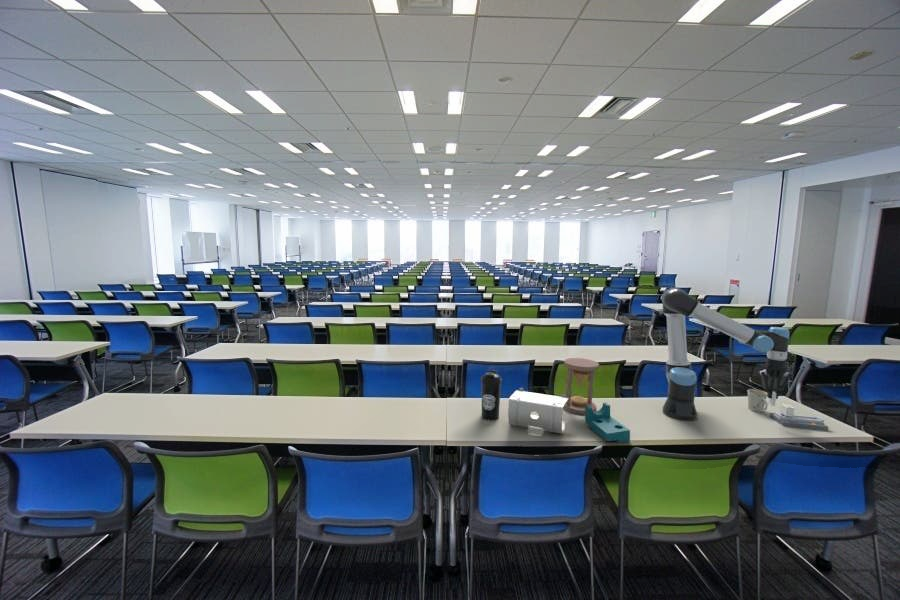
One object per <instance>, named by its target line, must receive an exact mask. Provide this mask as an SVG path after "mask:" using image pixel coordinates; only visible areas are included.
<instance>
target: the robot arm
mask: <svg viewBox="0 0 900 600" xmlns="http://www.w3.org/2000/svg"><path fill="white" fill-rule="evenodd" d="M660 299H661V303H662V314H664V316H666V330H667V346H668V360H666V361H665V376H666V379H667V382H668V387H667V397H666V399H665V402H664V404H663V406H662V413H664V415H665V416H668V417H671V418H673V419H677V420H680V421H681V420H682V421H694V420H697V418H698V412H697V408H696V404H695V397H696V395H695V394H696V385H697V381H698V380H697V373H696V372H695V371H693V370H692V363H691V361H690V360H688V347H687V346H688V345H687V344H688V343H687V331H686V328H687V327H686V318H693V319H695V320H697V321H699V322H701V323H703V324H705V325H707V326H709V327H711V328H713V329H715V330H717V331H719V332H721V333H723V334H725V335H727V336H730V338H734V339H735V340H737V341H738V343H739V344H740V345H745V346H747V345H748V346H750V348H753V349H755V350H756V351H758V352H761V353H766V360H765V368H764V369H763V370H759V371H758V373H759V375H760V378H761V383H762V389H763V391H764V390H765V392H767V394H768V395H767V398H768V402H767V404H768V405H770V406H774V407H775V406H776V401H777V400H778V399H779V394H781V393H784V392H785V388H786V387H787V384H788V382H789V379H790V378H791V377H792V375H793V374H791V373H789V372H787V369H786V367H787V362H788V361H787V359H788V351H789V350H788V349H789V342H790V329H788V328H786V327H782V326H781V327H780V326H779V327H778V326H770V328H769V329H768V330H756V329H753V328H751V327H749V326H747V325H745V324H743V323H741V322H739V321H736V320H735V319H732V318H731V317H729V316H727V315H724V314H722V313H719V312H718V311H716V310H714V309H712V308H710V307H708V306H706V305H703V304H702V303H701V301H700V300H698V299H697V298H694V297H693V296H691V295H690V294H688V293H687V292H686V291H685V290H684V289H682V288H680V287H670V288H668V289H665V290H664V291H663V293H662V295H661V297H660ZM767 377H768V378H767Z"/></svg>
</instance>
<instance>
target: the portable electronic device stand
mask: <svg viewBox="0 0 900 600" xmlns="http://www.w3.org/2000/svg"><path fill="white" fill-rule="evenodd" d="M568 399H569V398H566V393H565V394H563V393H562V394H561V396H558V395H551V394H544V393H537V392H531V391H530V392H529V391H525V390H524V388H523V387H519V389H517V390H515V391H514V392H513V393H512V394H511V395H510V396H509V399H508V409H507V417H508V418H507V419H508V424H509V425H511V426H518V427H523V428H527V429H526V430H527V431H526V435H528V434H529V436H531V435H534V436H533V437H537V436H539V437H538V438H542V437H543V435H544V433H545V432H550V433H555V434H564V432H565V430H566V422H565V421H563V413H564V408H563V407H564V405H565V404H566V402H567V401H568ZM532 412H535V413H537V415H534V414H532Z"/></svg>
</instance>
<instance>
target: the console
mask: <svg viewBox="0 0 900 600" xmlns="http://www.w3.org/2000/svg"><path fill="white" fill-rule="evenodd" d="M769 417H770V418H771V419H773V420H774V421H775V422H776V423H778V424H780V425H781V426H783V427H791V428H800V429H801V428H802V429H811V430H818V431H819V430H820V431H828V430H829V425H826V424H825V419H823V418H822V417H820V416H818V415H814V416H811V415H803V414H802V415H799V414H794V417H786V416H782V413H780V412H778V411H773V412H770V413H769Z"/></svg>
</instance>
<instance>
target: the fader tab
mask: <svg viewBox="0 0 900 600" xmlns="http://www.w3.org/2000/svg"><path fill="white" fill-rule="evenodd" d="M779 408H780V409H779V413H782V416H786V417H794V415H795V407H793V406H792V405H791V404H788V403H780V407H779Z"/></svg>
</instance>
